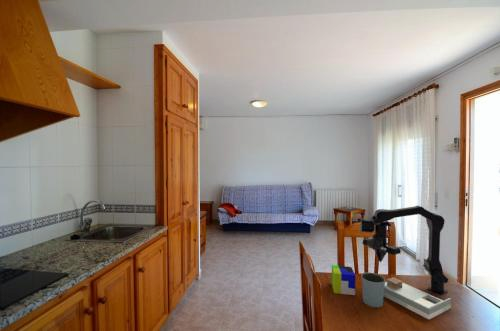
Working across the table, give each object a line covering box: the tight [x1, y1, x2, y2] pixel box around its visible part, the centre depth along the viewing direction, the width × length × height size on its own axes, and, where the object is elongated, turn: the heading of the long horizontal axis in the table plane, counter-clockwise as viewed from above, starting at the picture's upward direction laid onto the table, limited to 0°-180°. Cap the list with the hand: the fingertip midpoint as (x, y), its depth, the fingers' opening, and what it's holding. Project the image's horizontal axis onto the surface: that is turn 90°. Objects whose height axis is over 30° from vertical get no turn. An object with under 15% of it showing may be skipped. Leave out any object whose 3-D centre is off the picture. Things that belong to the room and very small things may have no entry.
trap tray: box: [383, 281, 452, 320], centre depth 118 cm, size 18×26×4 cm
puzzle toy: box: [331, 264, 356, 296], centre depth 127 cm, size 10×10×10 cm
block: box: [386, 277, 403, 290], centre depth 126 cm, size 5×5×3 cm
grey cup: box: [360, 272, 386, 308], centre depth 115 cm, size 10×10×12 cm
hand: (380, 261), depth 133 cm, fingers closed
